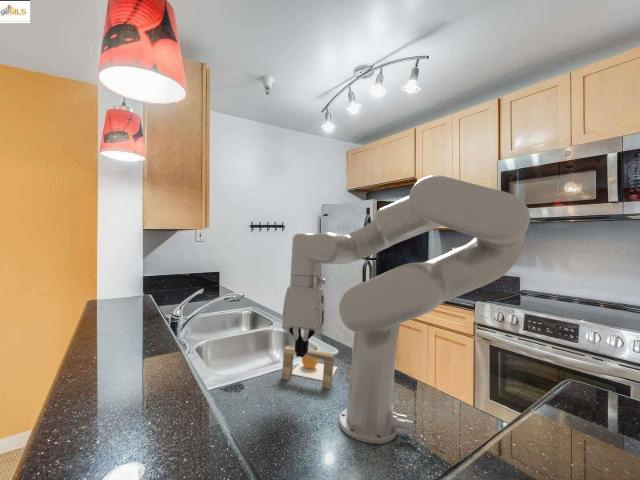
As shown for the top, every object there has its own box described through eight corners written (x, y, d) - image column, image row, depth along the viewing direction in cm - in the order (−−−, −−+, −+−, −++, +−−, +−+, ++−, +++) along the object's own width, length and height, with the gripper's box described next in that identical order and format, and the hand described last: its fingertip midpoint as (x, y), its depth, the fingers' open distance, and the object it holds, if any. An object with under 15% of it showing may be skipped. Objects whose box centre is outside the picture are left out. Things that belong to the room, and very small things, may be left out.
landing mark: (337, 367, 99) (337, 366, 99) (329, 382, 88) (329, 381, 88) (302, 360, 103) (302, 360, 103) (289, 374, 91) (289, 373, 91)
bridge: (285, 374, 90) (288, 345, 91) (331, 384, 87) (334, 353, 87) (281, 378, 88) (284, 348, 88) (329, 389, 84) (331, 357, 84)
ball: (317, 364, 93) (317, 372, 97) (318, 349, 97) (318, 357, 100) (300, 363, 94) (301, 371, 97) (302, 348, 97) (303, 356, 101)
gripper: (337, 283, 80) (333, 355, 79) (283, 279, 84) (279, 347, 83) (330, 285, 72) (326, 364, 72) (271, 281, 76) (267, 355, 76)
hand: (301, 355), depth 77 cm, fingers closed
